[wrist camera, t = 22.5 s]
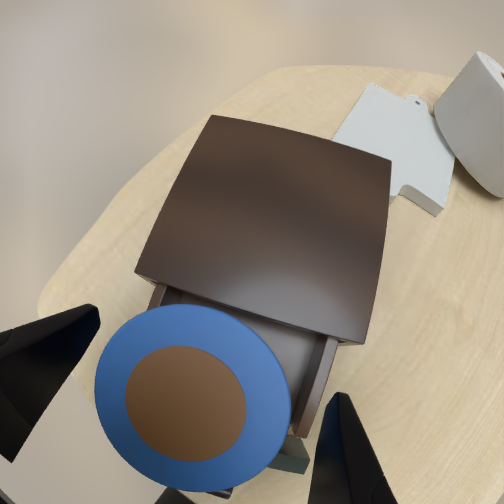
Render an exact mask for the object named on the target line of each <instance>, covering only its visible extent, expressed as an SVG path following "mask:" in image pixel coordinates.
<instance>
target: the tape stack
mask: <svg viewBox="0 0 504 504" xmlns="http://www.w3.org/2000/svg"><path fill="white" fill-rule="evenodd" d="M94 393H95V403H96V408H97V413H98V416H99V419H100V422H101V425H102V427H103V429H104V431H105V433H106V435H107V437H108V439H109V440H110V442H111V444H112V445H113V447H114V448H115V449H116V450H117V452H118V453H119V454H120V455H121V457H123V459H125V460H126V461H127V462H128V463H129V464H130V465H131V466H132V467H133V468H135V469H136V470H137V471H139V472H140V473H141V474H143V475H145V476H146V477H148V478H149V479H151V480H153V481H155V482H158V483H160V484H162V485H165V486H168V487H171V488H174V489H178V490H183V491H190V492H214V491H220V490H225V489H228V488H232V487H235V486H238V485H240V484H242V483H244V482H246V481H248V480H250V479H251V478H253V477H254V476H256V475H257V474H259V473H260V472H261V471H262V470H263V469H265V468H266V467H267V466H268V465H269V464H270V462H271V461H272V460H273V459H274V458H275V456H276V455H277V453H278V452H279V450H280V448H281V447H282V445H283V443H284V440H285V438H286V435H287V432H288V428H289V424H290V417H291V398H290V392H289V387H288V382H287V379H286V377H285V374H284V371H283V369H282V367H281V365H280V363H279V361H278V359H277V357H276V356H275V354H274V353H273V352H272V350H271V349H270V347H269V346H268V345H267V344H266V343H265V342H264V340H263V339H262V338H261V337H260V336H259V335H258V334H257V333H255V332H254V331H253V330H252V329H251V328H250V327H248V326H247V325H245V324H244V323H242V322H241V321H239V320H238V319H236V318H234V317H232V316H230V315H228V314H226V313H224V312H221V311H218V310H216V309H213V308H209V307H205V306H200V305H191V304H172V305H166V306H160V307H157V308H154V309H150V310H148V311H145V312H143V313H141V314H139V315H137V316H136V317H134V318H132V319H131V320H129V321H128V322H127V323H125V324H124V325H123V326H122V327H121V328H120V329H119V330H118V331H117V332H116V333H115V334H114V335H113V337H112V338H111V339H110V341H109V342H108V344H107V345H106V347H105V349H104V351H103V353H102V355H101V357H100V360H99V363H98V366H97V370H96V376H95V389H94Z"/></svg>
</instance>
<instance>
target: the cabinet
mask: <svg viewBox="0 0 504 504" xmlns="http://www.w3.org/2000/svg"><path fill="white" fill-rule="evenodd" d="M391 170H392V161H391V160H389V159H386V158H383V157H380V156H377V155H375V154H372V153H369V152H366V151H363V150H360V149H357V148H354V147H350V146H347V145H344V144H341V143H337V142H334V141H330V140H327V139H323V138H320V137H316V136H312V135H309V134H305V133H301V132H297V131H293V130H289V129H284V128H280V127H275V126H271V125H266V124H261V123H257V122H251V121H246V120H241V119H235V118H229V117H223V116H217V115H211V116H210V118H209V120H208V121H207V123H206V125H205V127H204V128H203V130H202V132H201V134H200V135H199V137H198V139H197V141H196V143H195V144H194V146H193V148H192V150H191V152H190V153H189V155H188V157H187V159H186V161H185V163H184V165H183V167H182V169H181V170H180V172H179V174H178V176H177V178H176V180H175V182H174V184H173V186H172V188H171V190H170V192H169V194H168V196H167V198H166V200H165V203H164V205H163V207H162V209H161V211H160V213H159V215H158V217H157V220H156V222H155V224H154V226H153V228H152V231H151V233H150V235H149V237H148V240H147V242H146V244H145V247H144V249H143V251H142V254H141V256H140V258H139V261H138V263H137V266H136V268H135V271H134V272H135V273H136V274H137V275H139V276H140V277H142V278H143V279H145V280H146V281H148V282H149V283H151V284H153V285H154V286H156V284H157V283H160V284H163V285H165V286H168V287H171V288H174V289H176V290H179V291H182V292H185V293H188V294H191V295H193V296H196V297H199V298H202V299H205V300H208V301H211V302H214V303H217V304H220V305H223V306H226V307H229V308H232V309H235V310H238V311H241V312H245V313H248V314H251V315H254V316H257V317H261V318H264V319H267V320H270V321H274V322H277V323H280V324H284V325H287V326H291V327H294V328H298V329H301V330H305V331H308V332H312V333H316V334H319V335H323V336H327V337H330V338H334V339H338V340H339V342H338V346H350V345H363V344H364V343H365V339H366V335H367V331H368V327H369V322H370V318H371V314H372V309H373V305H374V300H375V295H376V290H377V285H378V279H379V274H380V268H381V262H382V255H383V249H384V242H385V234H386V226H387V218H388V208H389V198H390V185H391Z"/></svg>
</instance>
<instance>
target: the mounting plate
mask: <svg viewBox="0 0 504 504" xmlns="http://www.w3.org/2000/svg"><path fill="white" fill-rule="evenodd" d="M331 141H334V142H337V143H341V144H344V145H347V146H350V147H354V148H357V149H360V150H363V151H366V152H369V153H372V154H375V155H377V156H380V157H383V158H386V159H389V160H391V161H392V170H391V185H390V198H389V204H391V203H392V201H393V200H394V199H395V197H396V196H397V195H398V194H400V195H403V196H405V197H407V198H408V199H410V200H411V201H413V202H414V203H416V204H417V205H419V206H420V207H422V208H423V209H425V210H426V211H427V212H429V213H430V214H432V215H433V216H435V217H436V216H437V215H438V214H439V213H440V212H441V211H442V210H443V209H444V208H445V204H446V200H447V195H448V191H449V187H450V182H451V177H452V172H453V167H454V162H455V156H456V155H455V154H454V152H453V151H452V149H451V148H450V146H449V145H448V143H447V141H446V139H445V138H444V136H443V134H442V132H441V130H440V128H439V126H438V123H437V121H436V119H435V118H434V117H432V116H431V115H430V114H429V112H428V104H427V103H426V102H425V101H424V100H422V99H421V98H419V97H417V96H415V95H413V94H409V95H408V96H407V98H401V97H399V96H397V95H395V94H393V93H391V92H389V91H387V90H385V89H383V88H381V87H379V86H377V85H375V84H373V83H371V82H370V83H369V85H368V86H367V88H366V89H365V91H364V92H363V94H362V95H361V97H360V98H359V100H358V101H357V103H356V104H355V106H354V107H353V109H352V110H351V112H350V113H349V115H348V116H347V118H346V119H345V121H344V122H343V124H342V125H341V127H340V128H339V130H338V131H337V133H336V134H335V136H334V137H333V139H332V140H331Z"/></svg>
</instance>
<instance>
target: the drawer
mask: <svg viewBox="0 0 504 504" xmlns="http://www.w3.org/2000/svg"><path fill="white" fill-rule="evenodd" d="M172 304H191V305H200V306H205V307H209V308H213V309H216V310H218V311H221V312H224V313H226V314H228V315H230V316H232V317H234V318H236V319H238V320H239V321H241V322H242V323H244V324H245V325H247V326H248V327H250V328H251V329H252V330H253V331H254V332H255V333H257V334H258V335H259V336H260V337H261V338H262V339H263V340H264V342H265V343H266V344H267V345H268V346H269V347H270V349H271V350H272V352H273V353H274V354H275V356H276V357H277V359H278V361H279V363H280V365H281V367H282V369H283V371H284V374H285V377H286V379H287V382H288V387H289V392H290V398H291V417H290V425H291V428H292V430H293V433H294V436H297V437H293V436H289V435H286V438H285V440H284V443H283V445H282V447H281V448H280V450H279V452H278V453H277V455H276V456H275V458H274V459H273V460H272V461H271V462H270V464H269V465H268V466H267V467H269V468H274V469H278V470H283V471H288V472H293V473H298V474H304V473H305V471H306V469H307V466H308V464H309V462H310V458H309V456H308V454H307V451H306V449H305V447H304V445H303V442H302V440H301V438H307V436H308V433H309V431H310V428H311V425H312V423H313V420H314V417H315V415H316V412H317V409H318V406H319V403H320V400H321V397H322V394H323V391H324V388H325V385H326V382H327V379H328V376H329V373H330V370H331V366H332V363H333V360H334V356H335V353H336V349H337V346H338V342H339V340H338V339H334V338H330V337H327V336H323V335H319V334H316V333H312V332H308V331H305V330H301V329H298V328H294V327H291V326H287V325H284V324H280V323H277V322H274V321H270V320H267V319H264V318H261V317H257V316H254V315H251V314H248V313H245V312H241V311H238V310H235V309H232V308H229V307H226V306H223V305H220V304H217V303H214V302H211V301H208V300H205V299H202V298H199V297H196V296H193V295H191V294H188V293H185V292H182V291H179V290H176V289H174V288H171V287H168V286H165V285H163V284H160V283H157V284H156V287H155V289H154V292H153V295H152V297H151V300H150V303H149V306H148V308H147V311H148V310H150V309H154V308H157V307H160V306H166V305H172ZM298 437H301V438H298ZM233 488H234V487H232V488H228V489H225V490H220V491H214V492H205V493H208V494H211V495H215V496H218V497H221V498H224V499H229V498H230V496H231V493H232V491H233Z"/></svg>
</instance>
